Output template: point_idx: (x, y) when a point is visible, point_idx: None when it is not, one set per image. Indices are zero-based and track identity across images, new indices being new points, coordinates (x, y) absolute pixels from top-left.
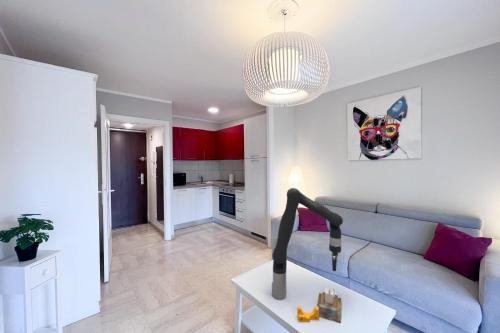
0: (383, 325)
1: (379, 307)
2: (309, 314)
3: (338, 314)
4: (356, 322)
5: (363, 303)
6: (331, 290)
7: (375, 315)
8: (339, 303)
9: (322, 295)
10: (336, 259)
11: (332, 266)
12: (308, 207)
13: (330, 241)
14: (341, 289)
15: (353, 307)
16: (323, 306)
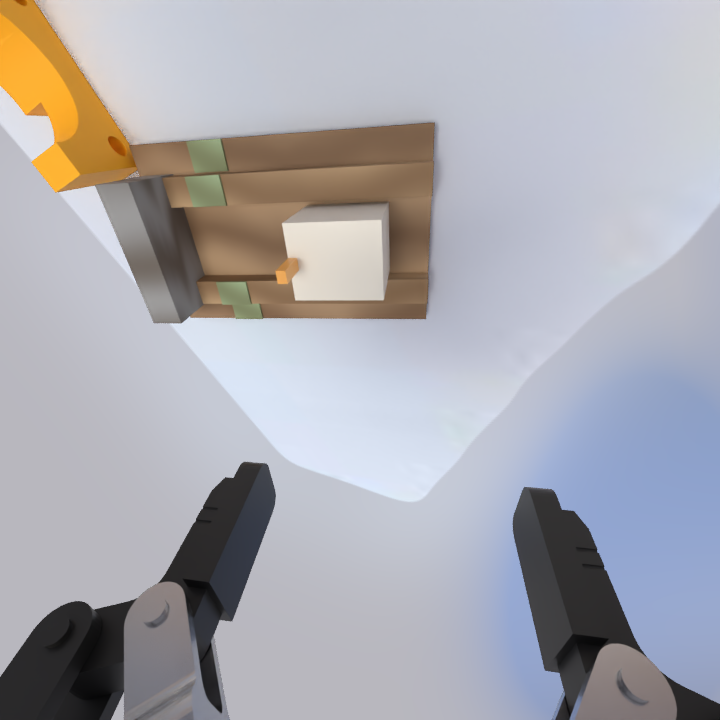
0: (308, 468)
1: (435, 477)
2: (56, 98)
3: (234, 305)
4: (257, 380)
5: (441, 424)
6: (361, 279)
7: (361, 454)
8: (356, 308)
9: (365, 172)
10: (570, 683)
11: (201, 540)
12: None
13: None
14: (580, 313)
15: (377, 376)
16: (123, 224)
